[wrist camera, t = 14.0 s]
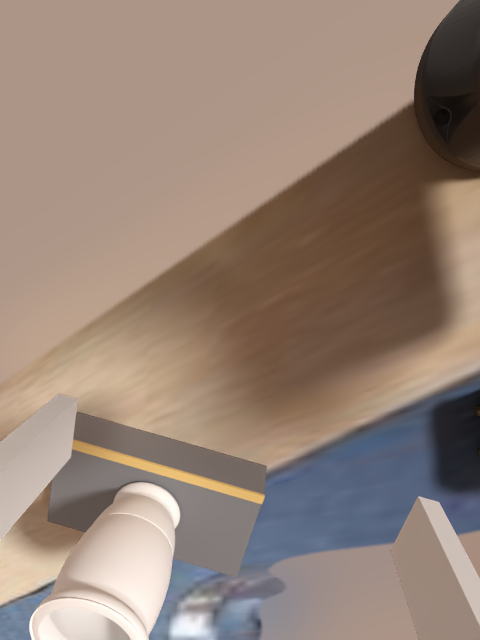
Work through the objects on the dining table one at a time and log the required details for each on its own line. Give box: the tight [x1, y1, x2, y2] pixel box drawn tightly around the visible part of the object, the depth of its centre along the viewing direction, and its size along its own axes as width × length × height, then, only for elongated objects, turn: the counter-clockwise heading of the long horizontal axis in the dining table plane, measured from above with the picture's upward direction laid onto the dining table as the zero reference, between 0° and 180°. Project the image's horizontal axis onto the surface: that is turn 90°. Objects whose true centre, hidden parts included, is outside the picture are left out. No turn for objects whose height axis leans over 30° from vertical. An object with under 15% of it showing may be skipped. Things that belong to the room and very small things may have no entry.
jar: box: [30, 482, 180, 640], centre depth 38 cm, size 11×10×15 cm
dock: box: [47, 412, 267, 577], centre depth 48 cm, size 26×14×5 cm, turn 76°
